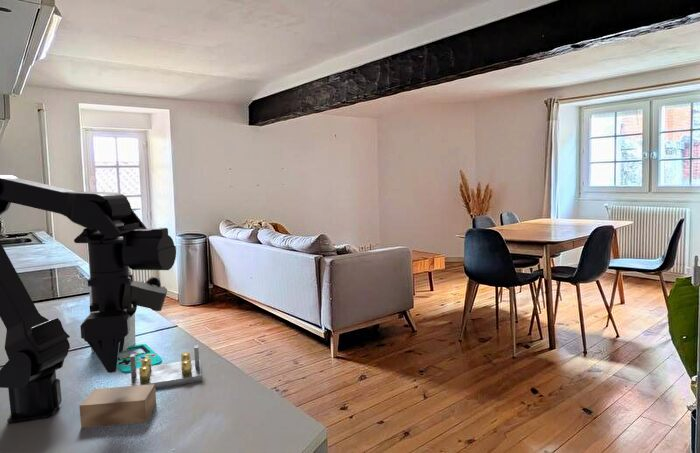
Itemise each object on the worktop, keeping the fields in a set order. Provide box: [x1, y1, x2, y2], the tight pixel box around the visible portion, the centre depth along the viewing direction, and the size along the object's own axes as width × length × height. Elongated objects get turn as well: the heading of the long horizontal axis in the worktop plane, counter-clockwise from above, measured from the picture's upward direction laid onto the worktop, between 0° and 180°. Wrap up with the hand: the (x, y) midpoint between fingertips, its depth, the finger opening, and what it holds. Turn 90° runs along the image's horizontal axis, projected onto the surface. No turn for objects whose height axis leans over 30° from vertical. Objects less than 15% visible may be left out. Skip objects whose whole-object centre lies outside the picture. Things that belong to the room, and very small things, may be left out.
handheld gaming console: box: [117, 343, 163, 374], centre depth 103 cm, size 8×1×15 cm
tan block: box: [79, 384, 157, 428], centre depth 77 cm, size 10×6×4 cm, turn 98°
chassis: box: [128, 344, 203, 390], centre depth 92 cm, size 13×9×6 cm
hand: (116, 361), depth 77 cm, fingers open, 9 cm apart
